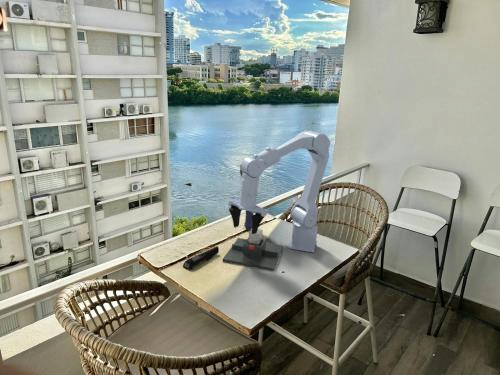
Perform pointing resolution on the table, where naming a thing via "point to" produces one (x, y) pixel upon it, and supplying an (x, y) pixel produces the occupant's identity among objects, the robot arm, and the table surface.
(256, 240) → the column
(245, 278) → the table surface
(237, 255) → the stand base
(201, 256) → the electric trimmer
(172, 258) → the table surface
